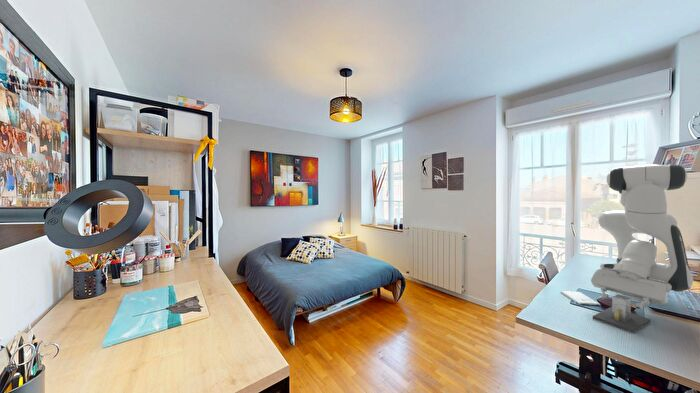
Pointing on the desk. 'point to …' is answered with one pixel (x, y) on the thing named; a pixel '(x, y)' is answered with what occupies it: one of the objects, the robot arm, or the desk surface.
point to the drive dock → (629, 325)
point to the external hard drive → (579, 297)
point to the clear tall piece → (622, 306)
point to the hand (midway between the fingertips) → (620, 303)
